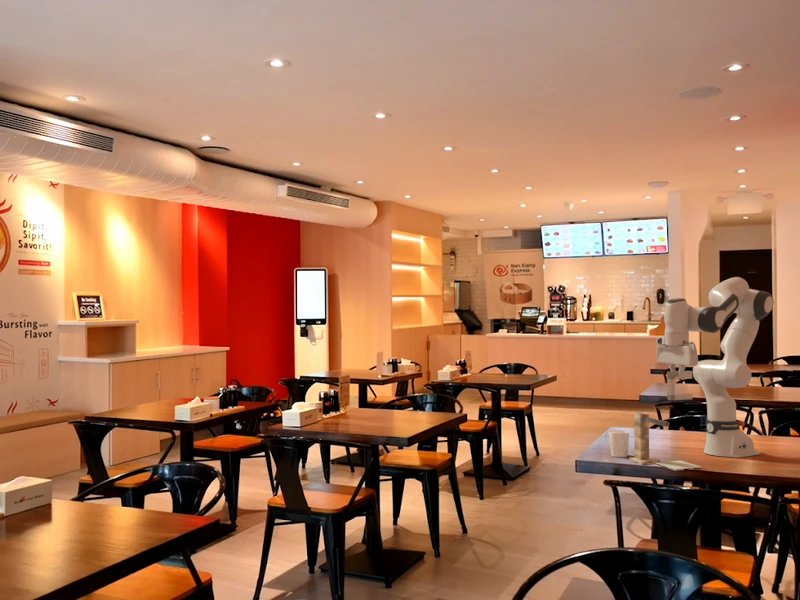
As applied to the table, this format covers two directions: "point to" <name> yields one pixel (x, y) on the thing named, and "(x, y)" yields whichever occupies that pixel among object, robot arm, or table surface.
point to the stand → (644, 437)
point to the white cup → (619, 443)
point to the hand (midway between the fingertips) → (677, 376)
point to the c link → (671, 385)
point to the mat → (678, 465)
